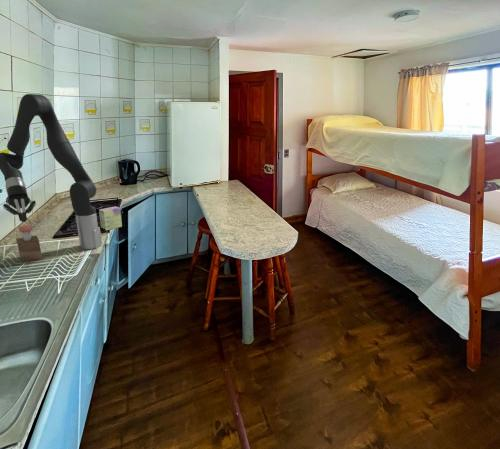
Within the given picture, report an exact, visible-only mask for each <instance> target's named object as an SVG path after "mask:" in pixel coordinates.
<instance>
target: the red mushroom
mask: <svg viewBox="0 0 500 449" xmlns="http://www.w3.org/2000/svg"><path fill="white" fill-rule="evenodd" d="M31 231H33V226H32V225H29V224H27V225H20V226H18V232H19V233H21V235H22V238H23V240H24V241H29V240H32V239H31V236H32V234H31Z"/></svg>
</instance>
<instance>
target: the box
mask: <svg viewBox="0 0 500 449" xmlns="http://www.w3.org/2000/svg"><path fill="white" fill-rule="evenodd" d="M98 214H99V220H100V221H99V222H100V229H101V228H103V229H105V230H104V231H109V230H113V229H117V228H123V222H122V212H121V207H119V206H111V207H106V208H105V207H104V208H101V209H98ZM103 229H102V230H103Z"/></svg>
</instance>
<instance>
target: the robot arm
mask: <svg viewBox="0 0 500 449" xmlns="http://www.w3.org/2000/svg"><path fill="white" fill-rule="evenodd" d="M17 111H18V112H17V116H16V119H15V123H14V128H13V131H12V133H11V136H10V137H9V139H8V142H7V145H6V148H7V150H8V151H9V152H11V153H8V152H3V151H2V152H0V172H1V174H2V175H3V176H4V182H5V189H6V190H5V191H6V193H7V203H3V204H2V205H3V206H2V207H3V209H4V210H6V211H7V212H9V213H10V214H12V215H13V216H18V219H19V222H21V223H25V222H27V220H28V217H27V214H30V213H31V212H32V211H33V209H34V208H35V207H36V205H37V203H36V202H37V201H35V200H31V199H30V197H29V195H28V191H27V187H26V184H25V181H24V177H23V174H22V171H21V170H20V169H22V168H23V166H24V156H25V151H26V150H27V146H28V144H29V142H30V139H31V134H30V133H31V132H30V128H31V127H30V126H31V124H32V121H33V120H34V118H35V117H36V116H37V117H39V118H40V120H41V122H42V124H43V126H44V128H45V132H46V144H47V147H48V149H49V151H50V153H51V154H52V156H53V158H54V159H55V161H56V162H57V163H58V164H59V165H61V166H62V168H64V169H65V170H66V171H67V172H69V174H70V175H71V177H72V178H73V180H74V183H72V184H70V188H69V196H70V202H71V205H72V206H71V207H72V209H73V211H74V214H75V220H76V221H75V222H76V227H77V228H76V229H77V234H78V241H79V242H78V243H79V245H80V246H79V248H80V249H82V250H94V249H98V248H99V247H100V246H102V244H103V242H102V234H101V226H98V225H99V224H98V216H97V209H96V207H95V206H93V205H91V204H92V203H91V199H92V198H94V197H95V196H96V194H97V187H96V185H95V183H94V181H93V180H92V179H91V177H90V175H89V174H88V172H87V171H86V169H85V168H84V166H83V164H82V163H81V160H80V159H79V158H78V155H77V154H76V151H75V150H74V148H73V146H72V143H71V142H70V140H69V138H68V137H67V135H66V133H65V132H64V129H63V127H62V125H61V123H60V121H59V118H58V117H57V114H56V113H55V110H54V107H53V105H52V103H51V101H50V100H49V98H48V97H47V96H45V95H43V94H37V93H26V94H24V95H23V96H22V97H21V99H20V101H19V105H18V110H17ZM12 153H13V154H12ZM28 205H29V206H28Z"/></svg>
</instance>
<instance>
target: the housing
mask: <svg viewBox="0 0 500 449" xmlns="http://www.w3.org/2000/svg"><path fill="white" fill-rule="evenodd" d="M31 239H32V240H29V241H24V240H23V237H20V238H19V237H18V238H16V244H17V249H18V253H19V258H20V261H21V263H27V262H32V261H38V260H42V259H43V255H42V250H41V249H42V248H41V244H40V240H39V238H38V235H33V236H32V235H31Z"/></svg>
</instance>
